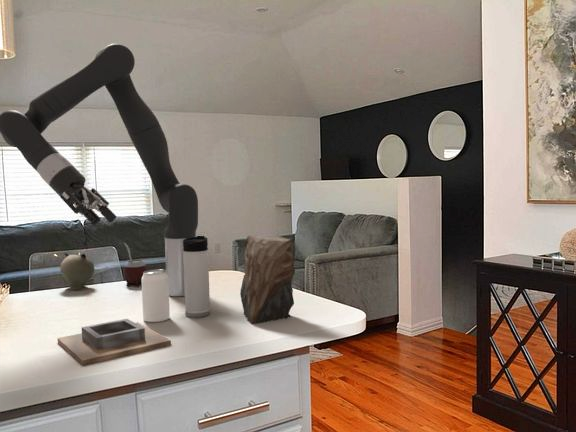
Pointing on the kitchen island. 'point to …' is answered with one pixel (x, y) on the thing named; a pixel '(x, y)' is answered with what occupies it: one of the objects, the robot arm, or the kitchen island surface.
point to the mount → (111, 341)
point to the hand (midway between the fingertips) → (106, 221)
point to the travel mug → (196, 277)
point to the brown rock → (267, 279)
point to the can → (155, 296)
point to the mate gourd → (134, 270)
